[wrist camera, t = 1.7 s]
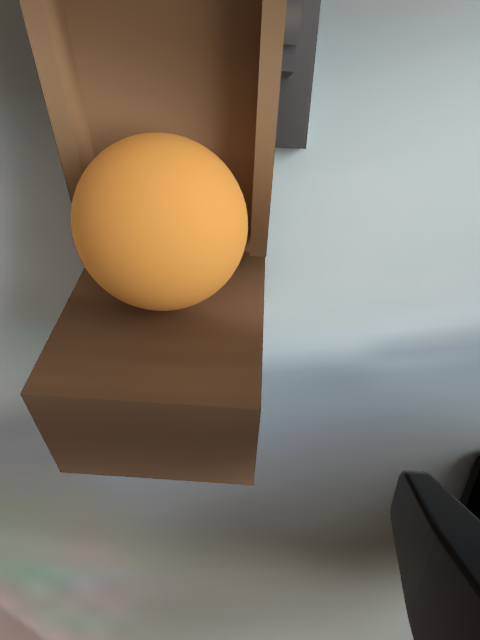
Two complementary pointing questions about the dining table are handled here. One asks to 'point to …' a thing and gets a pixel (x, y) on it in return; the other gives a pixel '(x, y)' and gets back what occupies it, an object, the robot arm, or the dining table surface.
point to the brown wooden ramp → (149, 325)
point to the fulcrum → (297, 80)
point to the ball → (159, 221)
